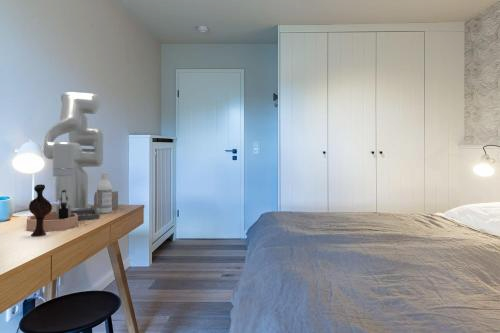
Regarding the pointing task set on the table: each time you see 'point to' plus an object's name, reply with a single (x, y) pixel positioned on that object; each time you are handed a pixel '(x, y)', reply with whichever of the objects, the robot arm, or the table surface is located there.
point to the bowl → (53, 222)
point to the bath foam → (104, 195)
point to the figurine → (39, 210)
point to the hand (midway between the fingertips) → (63, 216)
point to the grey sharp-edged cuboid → (59, 208)
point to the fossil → (114, 200)
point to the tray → (85, 217)
